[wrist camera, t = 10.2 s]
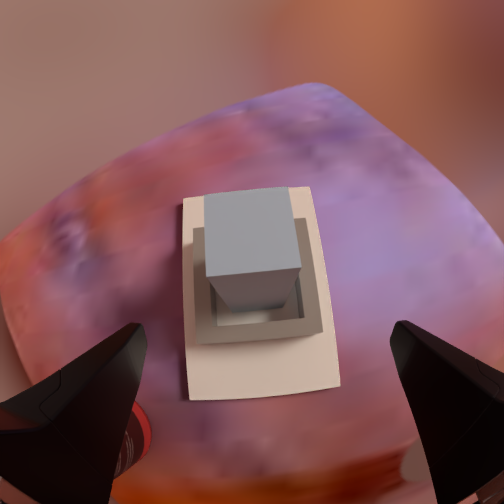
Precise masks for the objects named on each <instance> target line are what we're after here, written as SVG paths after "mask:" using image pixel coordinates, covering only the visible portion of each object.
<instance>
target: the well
mask: <svg viewBox="0 0 504 504" xmlns="http://www.w3.org/2000/svg"><path fill="white" fill-rule="evenodd" d="M288 190H289V195H290V200H291V206H292V211H293V217H294V223H295V229H296V235H297V241H298V247H299V253H300V259H301V266H302V268H301V270H300V272H299V274H298V276H297V279H296V281H295V283H294V285H293V287H292V289H291V291H290V293H289V296H288V298H287V300H286V302H285V304H284V306H283V308H276V309H267V310H257V311H247V312H236V313H232V311H231V310H230V309H229V307H228V306H227V305H226V303H225V302H224V301H223V299H222V298H221V297H220V295H219V294H218V293H217V291H216V290H215V288H214V287H213V286H212V284H211V283H210V281H209V280H208V279H207V277H206V262H205V234H204V196H199V197H190V198H183V244H182V264H183V310H184V332H185V350H186V364H187V377H188V388H189V398H190V400H224V399H244V398H258V397H269V396H278V395H287V394H295V393H302V392H309V391H315V390H321V389H327V388H333V387H338V386H340V375H339V365H338V355H337V346H336V338H335V329H334V322H333V314H332V307H331V300H330V293H329V287H328V280H327V274H326V268H325V262H324V257H323V251H322V245H321V240H320V235H319V230H318V225H317V220H316V215H315V210H314V205H313V200H312V196H311V191H310V187H296V188H288Z"/></svg>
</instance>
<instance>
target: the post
mask: <svg viewBox="0 0 504 504" xmlns="http://www.w3.org/2000/svg"><path fill="white" fill-rule="evenodd" d="M204 234H205V262H206V277H207V279H208V280H209V281H210V283H211V284H212V286H213V287H214V288H215V290H216V291H217V293H218V294H219V295H220V297H221V298H222V299H223V301H224V302H225V303H226V305H227V306H228V307H229V309H230V310H231V311H232V313H236V312H247V311H257V310H267V309H276V308H283V306H284V304H285V302H286V300H287V298H288V296H289V293H290V291H291V289H292V287H293V285H294V283H295V281H296V279H297V276H298V274H299V272H300V270H301V268H302V266H301V259H300V253H299V247H298V241H297V235H296V229H295V223H294V217H293V211H292V206H291V200H290V195H289V190H288V187H275V188H263V189H252V190H242V191H233V192H223V193H215V194H206V195H204Z"/></svg>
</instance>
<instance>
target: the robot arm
mask: <svg viewBox="0 0 504 504" xmlns="http://www.w3.org/2000/svg"><path fill="white" fill-rule="evenodd" d="M390 346H391V350H392V353H393V357H394V360H395V364H396V368H397V371H398V375H399V378H400V381H401V384H402V386H403V389H404V392H405V394H406V397H407V400H408V402H409V405H410V408H411V411H412V414H413V417H414V420H415V423H416V426H417V429H418V432H419V435H420V438H421V441H422V445H423V448H424V452H425V455H426V459H427V462H428V465H429V470H430V474H431V478H432V482H433V486H434V490H435V494H436V499H437V503H438V504H458V503H460V502H461V501H463V500H465V499H466V498H468V497H470V496H471V495H473V494H474V493H476V495H477V498H478V501H476V502H475V503H473V504H504V373H502V372H500V371H498V370H496V369H494V368H492V367H490V366H489V365H487V364H485V363H483V362H481V361H480V360H478V359H475V358H474V357H472V356H471V355H469V354H467V353H465V352H463V351H462V350H460V349H458V348H456V347H454V346H453V345H451V344H449V343H447V342H445V341H444V340H442V339H440V338H438V337H436V336H435V335H433V334H431V333H429V332H427V331H426V330H424V329H422V328H420V327H418V326H416V325H415V324H413V323H411V322H409V321H407V320H402V321H397V322H396V323H395V326H394V329H393V332H392V334H391V337H390ZM146 350H147V340H146V336H145V332H144V328H143V325H142V324H141V323H134V322H131V323H129V324H127V325H126V326H124V327H123V328H121V329H120V330H118V331H117V332H115V333H114V334H112V335H111V336H109V337H108V338H106V339H105V340H103V341H102V342H100V343H99V344H97V345H96V346H94V347H93V348H91V349H90V350H88V351H87V352H85V353H84V354H82V355H81V356H79V357H78V358H76V359H75V360H73V361H72V362H70V363H69V364H67V365H66V366H64V367H63V368H61V370H58V371H56V372H55V373H53V374H52V375H50V376H49V377H47V378H46V379H44V380H43V381H41V382H39V383H37V384H36V385H34V386H32V387H30V388H29V389H27V390H25V391H23V392H21V393H19V394H17V395H16V396H14V397H12V398H10V399H8V400H6V401H4V402H1V403H0V504H108V503H109V498H110V493H111V489H112V485H111V484H112V483H113V479H114V475H115V471H116V467H117V462H118V458H119V455H120V451H121V447H122V443H123V439H124V436H125V432H126V429H127V425H128V421H129V418H130V415H131V411H132V408H133V404H134V401H135V398H136V395H137V391H138V388H139V385H140V380H141V375H142V370H143V365H144V360H145V355H146Z"/></svg>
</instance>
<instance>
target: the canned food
mask: <svg viewBox="0 0 504 504" xmlns="http://www.w3.org/2000/svg"><path fill="white" fill-rule="evenodd" d="M151 438H152V430H151V426H150V422H149V420H148V417H147V415H146V414H145V412H144V410H143V409H142V408H141V406H140V405H139V404H138V403H137V402H136V401H134V404H133V408H132V411H131V415H130V418H129V421H128V425H127V429H126V432H125V436H124V439H123V443H122V447H121V451H120V455H119V458H118V462H117V467H116V471H115V475H114V479H116V478H117V477H118V476H120V475H121V474H122V473H124V472H125V471H126V470H128V469H129V468H130V467H131V466H133V465H134V464H135V463H137V462H138V461H139V460H140V459H142V458H143V457H144V455H145V454H146V453H147V451H148V449H149V447H150V442H151ZM114 479H113V480H114Z"/></svg>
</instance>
